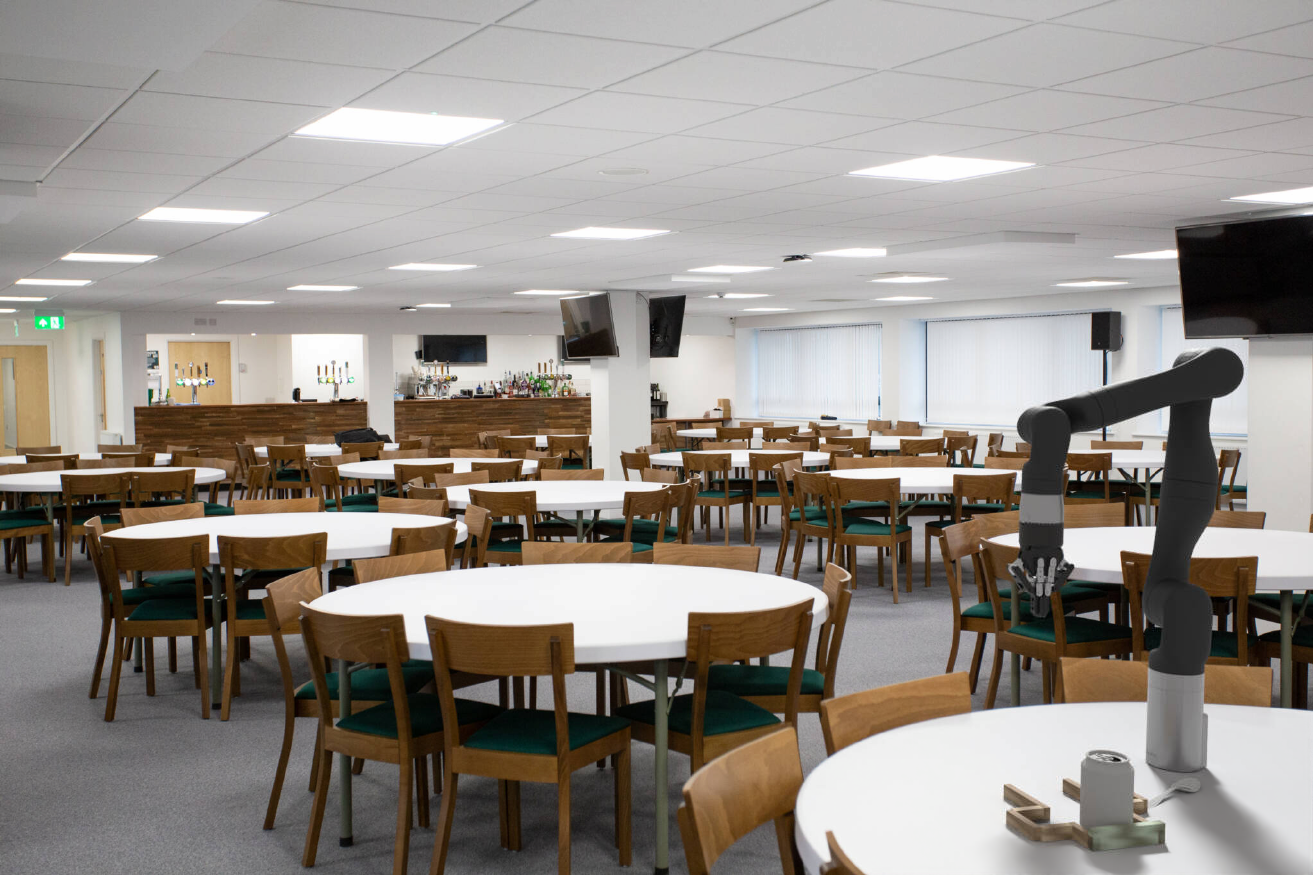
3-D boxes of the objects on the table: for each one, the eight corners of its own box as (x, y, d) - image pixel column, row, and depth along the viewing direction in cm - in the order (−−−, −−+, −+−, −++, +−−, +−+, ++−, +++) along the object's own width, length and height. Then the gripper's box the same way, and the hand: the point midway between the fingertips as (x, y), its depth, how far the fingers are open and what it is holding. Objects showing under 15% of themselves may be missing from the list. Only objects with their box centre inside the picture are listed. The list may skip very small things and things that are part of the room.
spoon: (1207, 790, 190) (1207, 780, 189) (1146, 818, 176) (1147, 808, 176) (1182, 783, 193) (1183, 774, 193) (1121, 811, 180) (1122, 801, 180)
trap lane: (1100, 786, 189) (1100, 769, 189) (1199, 839, 167) (1200, 819, 167) (970, 799, 183) (970, 781, 183) (1055, 855, 161) (1056, 835, 160)
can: (1138, 844, 165) (1140, 764, 165) (1085, 840, 166) (1087, 761, 166) (1124, 825, 172) (1126, 748, 172) (1074, 822, 173) (1076, 745, 173)
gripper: (1060, 516, 203) (1058, 610, 204) (996, 517, 200) (994, 613, 201) (1087, 520, 196) (1084, 618, 197) (1020, 522, 193) (1018, 622, 193)
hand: (1039, 616), depth 199 cm, fingers closed
